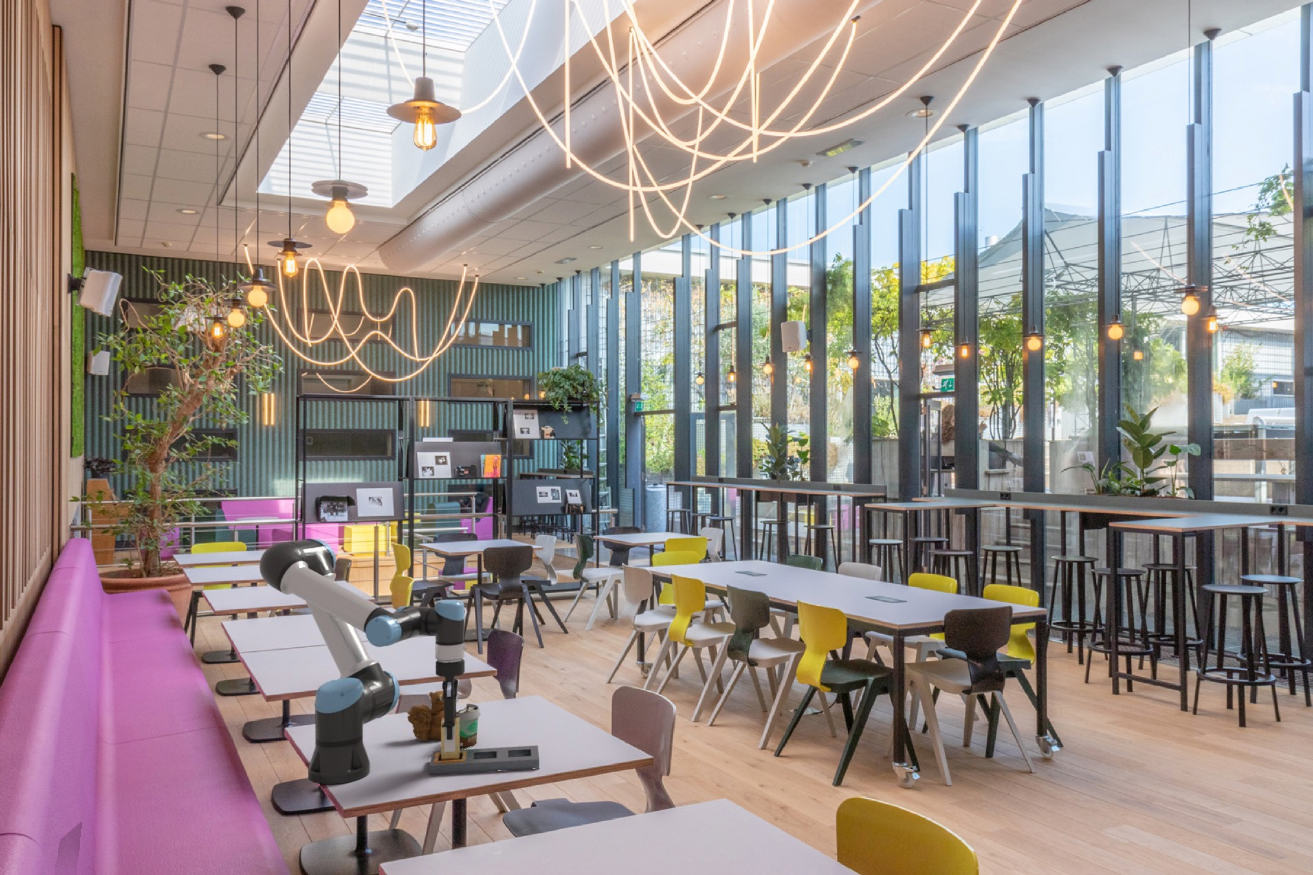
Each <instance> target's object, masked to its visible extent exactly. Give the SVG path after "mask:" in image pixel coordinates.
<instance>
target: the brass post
mask: <svg viewBox="0 0 1313 875" xmlns="http://www.w3.org/2000/svg"><path fill="white" fill-rule="evenodd" d="M454 723H455V752H444V727H442V725H444V718H442V722H441V740H440V746H441V747H440V749H441V750H440V751H441V761H446V760H460V750H461V749H460V718H454Z"/></svg>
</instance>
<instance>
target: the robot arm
mask: <svg viewBox="0 0 1313 875" xmlns="http://www.w3.org/2000/svg"><path fill="white" fill-rule="evenodd" d="M336 563H337V558H336V554H335V551H334V549H333V548H332V547H331V545H329V544H328V543H327V542H326V541H324V540H321V539H318V538H303V539H300V540H299V539H298V540H290V541H281V542H277V543H274V544H272V545H271V546H269V547H268V548H267V549H266V550H265V551H264V552H263V554H262V556H261V557H260V560H259V572H260V575H261V577H262V579H263V580H264V582H266V584H268V585H269V586H270V587H271V588H273V589H274V590H276V591H279V592H280V593H282V594H284V595H294V596H296V597H297V598H300V599H302V600H304V601H305V602H306V605H307V606H308V610H309V611H310V613H311V615H312V617H313V620H314V621H315V623H316V626H317V628H318V630H319V632H320V634H321V636H322V638H323V640H324V642H325V644H326V646H327V649H328V650H329V653H330V654H331V657H332V660H333V661H334V663H335V665H336V667H337V669H338V671H339V674H340V677H339V678H338V679H332V680H329V681H326V682H325V683H323V684H321V685H320V686H318V688H317V690H316V692H315V699H314V708H315V709H314V711H315V713H314V714H315V716H314V718H315V724H314V725H315V734H314V735H315V746H314V750H313V753H312V756H311V759H310V762H309V765H308V769H307V774H308V775H307V779H308V780H309V781H310V782H312V783H315V784H320V783H321V784H320V785H335V784H336V785H338V784H344V783H350V782H354V781H357V780H360V779H363V778H364V777H366V776H368V775H369V773H371V763H370V759H369V757H368V756H369V755H368V753H367V752H368V751H367V750H366V746H365V745H364V725H365V724H368V723H370V722H372V721H374V720H376V719H381V718H383V717H384V716H386V714H388V713H391V711H393V709H394V708H395V707H396V706H397V704H398V702H399V698H400V694H401V693H400V691H401V690H400V684H399V681H398V679H397V678H396V676H395V675H394V674H393V673H391V672H389V671H387V670H383V668H382V666H381V664H380V662H379V661H378V660H375V659H372V658H371V657H370V655H369V653H368V651H367V649H366V647H365V645H364V643H363V641H362V638H361V637H360V634H359V632H358V631H360V632H362V633H365V637H366V639H367V640H368V642H369V643H370V644H371V645H372V646H374V647H377V648H381V647H390V646H392V645H394V644H397V643H400V642H402V641H405V640H409V639H412V638H414V637H420V636H421V637H423V636H424V637H435V645H434V646H435V648H434V649H435V653H434V654H435V659H436V661H435V675H436V676H438V677H441V678H442V677H444V678H445V679H444V680H443V681H442V685H441V689H442V691H443V699H444V725H442V727H444V752H455V723H454V718H459V716H456V714H457V712H458V711H457V697H458V687H459V680H458V679H457V677H459V676H462V675H464V674H465V671H466V670H465V669H466V668H465V665H466V664H465V662H466V660H465V659H464V657H465V651H466V650H467V649H468V647H467V646H466V645H465V619H466V616H465V604H464V602H463V601H462V600H459V599H442V600H438V601H436V603H435V606H434V607H429V606H414V605H408V606H407V605H406V606H399V607H398V608H396V610H395V611H394V612H391V611H389V610H387V609H385V608H383V607H382V606H380V605H378V604H376V603H374V602H372V601H371V600H368V599H366V597H363V596H361V595H359V594H357V593H355V592H354V591H353V590H352V591H351V590H350V589H347V587H345V586H342V585H340V584H339V583H337V582H335V580H336V577H337V574H336V572H335V569H336ZM456 711H457V712H456ZM319 782H320V783H319Z"/></svg>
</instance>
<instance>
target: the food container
mask: <svg viewBox="0 0 1313 875" xmlns="http://www.w3.org/2000/svg"><path fill="white" fill-rule="evenodd" d="M481 715H482V714H481V710H480V708H479V705H477V704H473V703H466V707H464V708H463V709H460V710H458V711H457V714H456V716H459V718H460V748H463V749H467V748H468V747H469V748H471V747H470V746H472V747H474V746H476V745H477V743H478V742H477V741H478V740H477V739H478V726H479V725H478V724H479V718H480V716H481ZM475 744H476V745H475ZM469 748H468V749H469Z"/></svg>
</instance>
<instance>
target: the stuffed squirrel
mask: <svg viewBox="0 0 1313 875" xmlns="http://www.w3.org/2000/svg"><path fill="white" fill-rule="evenodd" d="M428 693H429V697H430V701H431V708H430V707H429V706H428V705H425V704H420V705H415V706H412V707H411V708H410V710H409V711H406V714H407V715H408V716H407V717H406V718H407V721H408V722H409V723H410V724H411V725H412V733H413V735H414V737H415V738H416V739H418V740H419V741H421V742H429V740H430V741H431V740H434V739H435V741H441V722H442V718H444V699H443V690H436V691H430V692H428ZM456 712H458V711H457V710H456Z"/></svg>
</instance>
